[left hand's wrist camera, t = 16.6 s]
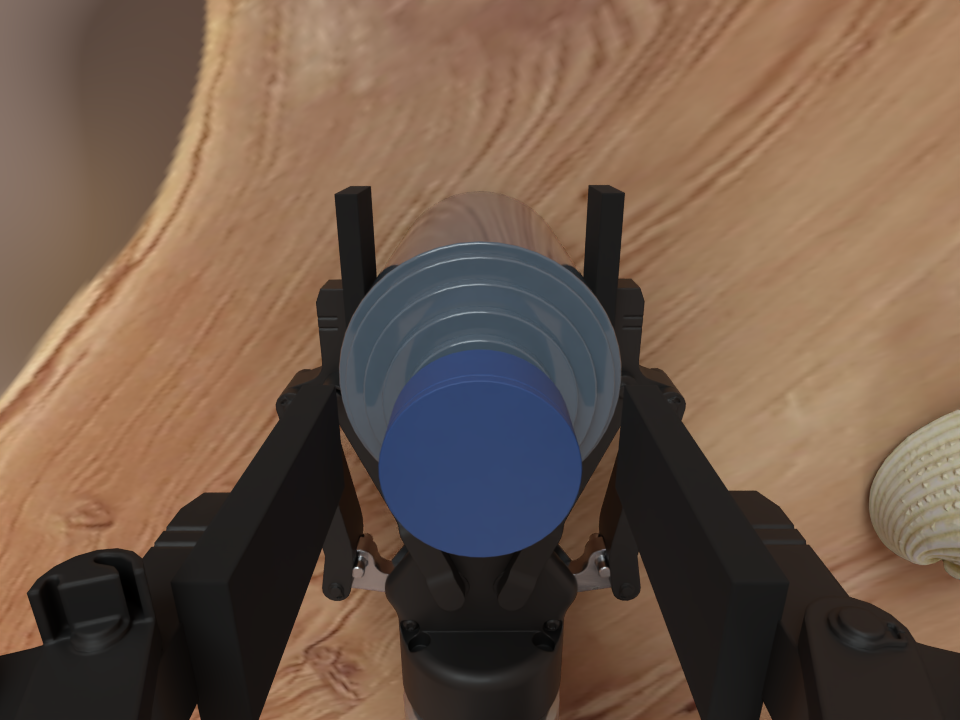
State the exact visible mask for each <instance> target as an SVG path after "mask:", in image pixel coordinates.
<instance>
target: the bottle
mask: <svg viewBox="0 0 960 720" xmlns="http://www.w3.org/2000/svg"><path fill="white" fill-rule="evenodd" d="M467 350H493V351H500V352H504V353H508V354H511V355H514V356H517V357H519V358H521V359H524V360H526V361H527V362H529V363H531V364H533V365H534V366H536V367H537V368H538V369H540V370H541V371H542V372H544V373H545V374H546V375H547V376H548V377H549V378H550V379H551V380H552V382H553V383H554V384H555V386H556V387H557V388H558V390H559V391H560V393H561V395H562V397H563V399H564V401H565V403H566V406H567V409H568V412H569V415H570V418H571V422H572V425H573V428H574V431H575V435H576V438H577V441H578V445H579V448H580V453H581V458H582V462H583V461H584V460H585V459H586V458H587V457H588V456H589V454H590V453H591V452H592V451H593V449H594V448H595V447H596V446H597V444H598V443H599V441H600V440H601V438H602V437H603V435H604V433H605V432H606V430H607V428H608V426H609V424H610V421H611V419H612V417H613V415H614V412H615V408H616V405H617V402H618V398H619V392H620V385H621V358H620V351H619V345H618V342H617V338H616V335H615V331H614V329H613V326H612V324H611V322H610V320H609V318H608V315H607V313H606V312H605V310H604V308H603V307H602V305H601V304H600V302H599V301H598V299H597V297H596V296H595V294H594V293H593V291H592V290H591V288H590V287H589V285H588V284H587V282H586V281H585V279H584V278H583V276H582V275H581V273H580V272H579V270H578V269H577V267H576V266H575V264H574V263H573V261H572V260H571V258H570V257H569V255H568V254H567V252H566V251H565V249H564V248H563V246H562V245H561V243H560V242H559V240H558V239H557V237H556V235H555V234H554V232H553V231H552V229H551V228H550V226H549V225H548V224H547V223H546V222H545V220H544V219H543V218H542V217H541V216H540V215H539V214H538V213H536V212H535V211H534V210H533V209H532V208H530V207H529V206H527V205H526V204H524V203H522V202H520V201H518V200H516V199H514V198H512V197H509V196H506V195H503V194H498V193H493V192H467V193H462V194H458V195H454V196H452V197H449V198H446V199H444V200H442V201H440V202H438V203H436V204H434V205H433V206H432V207H430V208H429V209H427V210H426V211H425V212H424V213H423V214H422V215H421V216H420V217H418V218H417V219H416V221H415V222H414V223H413V224H412V226H411V227H410V228H409V230H408V231H407V233H406V234H405V236H404V237H403V239H402V240H401V242H400V243H399V245H398V246H397V248H396V249H395V251H394V252H393V254H392V255H391V257H390V259H389V260H388V262H387V263H386V265H385V266H384V268H383V269H382V271H381V272H380V274H379V275H378V277H377V278H376V280H375V281H374V283H373V284H372V286H371V287H370V289H369V290H368V292H367V293H366V295H365V296H364V298H363V299H362V301H361V303H360V304H359V306H358V308H357V309H356V311H355V313H354V314H353V316H352V318H351V321H350V323H349V325H348V328H347V330H346V332H345V336H344V340H343V344H342V348H341V354H340V363H339V382H340V389H341V395H342V401H343V404H344V407H345V410H346V413H347V416H348V419H349V421H350V423H351V425H352V427H353V429H354V431H355V433H356V434H357V436H358V437H359V439H360V441H361V442H362V444H363V445H364V447H365V448H366V449H367V450H368V451H369V453H370V454H371V455H372V456H373V457H374V458H375V459H376V460H377V461H378V462H379V456H380V451H381V447H382V444H383V440H384V437H385V434H386V430H387V427H388V424H389V420H390V417H391V414H392V410H393V407H394V404H395V402H396V400H397V398H398V396H399V394H400V392H401V391H402V389H403V388H404V386H405V385H406V384H407V382H408V381H409V380H410V379H411V378H412V377H413V376H414V375H415V374H416V373H417V372H418V371H419V370H421V369H422V368H424V367H425V366H426V365H428V364H429V363H431V362H433V361H435V360H437V359H439V358H441V357H444V356H447V355H449V354H452V353H456V352H461V351H467Z"/></svg>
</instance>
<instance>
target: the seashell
mask: <svg viewBox="0 0 960 720" xmlns="http://www.w3.org/2000/svg"><path fill="white" fill-rule="evenodd" d="M869 512H870V518H871V521H872V525H873V527H874V529H875V531H876V533H877V535H878V537H879V538H880V540H881V541H882V542H883V544H884V545H885V546H886V547H887V548H888V549H890V550H891V551H892V552H894V553H895V554H896V555H898V556H900V557H902V558H904V559H906V560H908V561H910V562H912V563H915V564H919V565H929V564H933V563H936V562H938V561H940V560H943V564H944V568H945V571H946V572H947V573H948V574H949V575H951V576H952V577H954V578H956V579H959V580H960V410H956V411H954V412H951V413H949V414H947V415H944V416H942V417H940V418H938V419H936V420H935V421H933V422H931V423H929V424H928V425H926V426H924V427H922V428H921V429H919V430H917V431H916V432H914V433H913V434H911V435H910V436H908V437H907V438H906V439H905V440H904V441H903V442H902V443H900V444H899V445H898V446H897V447H896V448H895V449H894V450H893V451H892V453H891V454H890V455H889V456H888V457H887V458H886V459H885V461H884V463H883V464H882V466H881V467H880V469H879V470H878V472H877V474H876V476H875V478H874V480H873V483H872V486H871V490H870V497H869Z"/></svg>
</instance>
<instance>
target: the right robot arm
mask: <svg viewBox="0 0 960 720" xmlns="http://www.w3.org/2000/svg"><path fill="white" fill-rule="evenodd" d="M624 198H625V193H624V192H622V191H620V190H618V189H616V188H614V187H612V186H610V185H589V189H588V206H587V224H586V241H585V259H584V276H583V278H584V279H585V281H586V282H587V284H588V285H589V287H590V288H591V290H592V291H593V293H594V294H595V296H596V297H597V299H598V301H599V302H600V304H601V305H602V307H603V308H604V310H605V312H606V313H607V315H608V318H609V320H610V322H611V324H612V326H613V329H614V331H615V335H616V338H617V342H618V345H619V351H620V358H621V385H620V392H619V398H618V402H617V405H616V408H615V412H614V415H613V417H612V419H611V421H610V424H609V426H608V428H607V430H606V432H605V433H604V435H603V437H602V438H601V440H600V441H599V443H598V444H597V446H596V447H595V448H594V449H593V451H592V452H591V453H590V454H589V456H588V457H587V458H586V459H585V460H584V461H583V462H582V478H581V484H580V488H579V492H578V495H577V497H576V500H575V502H574V504H573V506H572V508H573V507H574V505H575V503H576V501H577V500H578V498H579V496H580V495H581V493H582V491H583V489H584V488H585V486H586V484H587V483H588V481H589V479H590V477H591V476H592V474H593V472H594V471H595V469H596V467H597V465H598V464H599V462H600V460H601V459H602V457H603V455H604V453H605V452H606V450H607V448H608V446H609V445H610V443H611V441H612V440H613V438H614V436H615V434H616V433H617V431H618V429H619V428H620V426H621V417H622V406H623V395H624V385H658V387H659V388H660V390H661V391H662V393H663V394H664V396H665V397H666V399H667V400H668V402H669V403H670V405H671V406H672V408H673V409H674V411H675V412H676V414H677V415H678V417H679V418H680V420H682V417H683V414H684V411H685V406H686V403H685V400H684V398H683V396H682V395H681V394H680V392H679V391H678V389H677V388H676V387H675V385H674V384H673V383H672V381H671V380H670V379H669V377H668V376H667V374H666V373H665V372H664V371H663V370H660V369H658V368H651V369H648V368H646V367H643V366H640V365H639V355H640V344H641V333H642V323H643V312H644V302H645V301H644V298H643V295H642V292H641V289H640V287H639V286H638V285H637V284H636V283H635V282H634V281H633V280H632V279H618V275H619V262H620V249H621V236H622V224H623V211H624ZM335 206H336V217H337V229H338V240H339V252H340V264H341V275H342V280H328V281H327V282H326V284H325V285H324V286H323V287H322V288H321V289H320V292H319V295H318V298H317V301H316V306H317V316H318V326H319V336H320V346H321V355H322V366H320V367H318V368H315V369H312V370H310V369H303V370H301V371H299V372H298V373H297V374H296V375H295V376H294V377H293V379H292V380H291V381H290V383H289V384H288V386H287V387H286V388H285V390H284V391H283V392H282V394H281V395H280V397H279V398H278V399H277V402H276V410H277V413H278V416H279V419H280V418H281V417H282V415H283V414H284V412H285V411H286V409H287V408H288V406H289V405H290V403H291V402H292V400H293V399H294V397H295V396H296V394H297V393H298V391H299V390H300V388H301V387H302V385H336V395H337V406H338V417H339V425H340V426H341V428H342V430H343V431H344V433H345V435H346V437H347V438H348V440H349V442H350V443H351V445H352V447H353V448H354V450H355V452H356V453H357V455H358V457H359V458H360V460H361V462H362V464H363V465H364V467H365V469H366V470H367V472H368V474H369V475H370V477H371V479H372V480H373V482H374V484H375V485H376V487H377V489H378V491H379V492H380V494H381V496H382V497H383V499H384V496H383V493H382V490H381V486H380V481H379V469H378V464H379V462H378V461H377V460H376V459H375V458H374V457H373V456H372V455H371V454H370V453H369V451H368V450H367V449H366V448H365V447H364V445H363V444H362V442H361V441H360V439H359V437H358V436H357V434H356V433H355V431H354V429H353V427H352V425H351V423H350V421H349V419H348V416H347V413H346V410H345V407H344V404H343V401H342V395H341V389H340V382H339V363H340V354H341V348H342V344H343V340H344V336H345V332H346V330H347V328H348V325H349V323H350V321H351V318H352V316H353V314H354V313H355V311H356V309H357V308H358V306H359V304H360V303H361V301H362V299H363V298H364V296H365V295H366V293H367V292H368V290H369V289H370V287H371V286H372V284H373V283H374V281H375V280H376V278H377V275H376V259H375V244H374V229H373V213H372V198H371V186H350V187H348V188H346V189H344V190H342V191H340V192H338V193H336V194H335ZM341 450H342V461H343V472H344V483H345V488H344V490H343V493H342V496H341V498H340V501H339V504H338V507H337V509H336V512H335V515H334V517H333V520H332V523H331V526H330V528H329V531H328V534H327V536H326V539H325V542H324V544H323V547H322V548H323V551H324V554H325V564H324V575H323V585H322V590H323V593H324V595H325V596H326V597H327V598H329V599H331V600H334V601H341V600H344V599H346V598H347V597H348V596H349V594H350V591H351V588H359V589H366V590H374V591H381V592H385V594H386V597H387V599H388V601H389V602H390V603H391V605H392V606H393V607H394V609H395V610H396V612H397V614H398V618H399V630H400V645H401V660H402V675H403V685H404V707H405V720H558V719H559V702H560V699H559V686H560V678H561V662H562V644H563V627H564V616H565V613H566V611H567V609H568V608H569V606H570V605H571V604H572V602H573V601H574V599H575V598H576V595H577V592H581V591H589V590H596V589H603V588H610V587H611V588H612V592H613V594H614V596H615V597H616V598H617V599H620V600H625V601H628V600H631V599H634V598H635V597H637V596H638V594H639V593H640V588H641V587H640V577H639V567H638V558H637V555H638V552H639V550H638V547H637V544H636V542H635V539H634V536H633V534H632V531H631V528H630V526H629V523H628V520H627V517H626V515H625V512H624V509H623V507H622V504H621V501H620V498H619V496H618V493H617V490H616V488H615V483H616V472H617V461H618V454H617V457H616V460H615V464H614V467H613V471H612V474H611V478H610V481H609V484H608V488H607V491H606V495H605V498H604V502H603V505H602V509H601V513H600V519H599V533H594V534H592V535H590V537H589V541H588V542H587V544H586V546H585V551H584V554H583V555H582V556H581V557H580V558H579V559H577V560H573V561H571V559H570V558H569V557H568V555H567V554H566V553H565V552H564V551H563V549H562V548H561V547H560V546H559V545H558V543H559V541H560V539H561V536H562V533H563V527H564V523H565V521H566V519H567V517H568V515H569V514H570V512H571V510H572V508H571V509H570V511H569V513H568V515H567V516H566V517H565V518H564V520H563V521H562V522H561V523H560V524H559V525H558V526H557V527H556V528H555V529H554V530H553V531H552V532H551V533H550V534H548V535H547V536H546V537H544V538H543V539H542V540H540V541H538V542H537V543H535V544H533V545H531V546H529V547H527V548H525V549H522V550H520V551H517V552H513V553H510V554H506V555H501V556H495V557H466V556H459V555H455V554H451V553H447V552H444V551H441V550H438V549H436V548H434V547H432V546H430V545H428V544H426V543H424V542H422V541H421V540H419V539H418V538H416V537H415V536H413V535H412V534H411V533H410V532H409V531H407V530H406V529H405V528H404V527H403V526H402V525H401V524H400V523H399V521H398V520H397V519H396V518H395V516H394V515H393V516H394V518H395V519H396V521H397V523H398V527H399V533H400V536H401V539H402V541H403V543H404V545H403V547H402V548H401V549H400V550H399V552H398V553H397V554H396V555H395V556H394V558H393V559H392V560H391V561H389V560H386V559H384V558H382V557H381V556H380V555H379V553H378V549H377V545H376V543H375V542H374V541H373V537H372V535H370V534H368V533H364V534H363V517H362V513H361V508H360V505H359V502H358V498H357V495H356V492H355V488H354V485H353V482H352V478H351V475H350V471H349V468H348V465H347V461H346V458H345V455H344V451H343V448H342V445H341ZM384 501H385V499H384ZM385 502H386V501H385ZM386 504H387V503H386ZM387 506H388V505H387ZM392 514H393V513H392Z"/></svg>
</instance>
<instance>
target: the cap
mask: <svg viewBox="0 0 960 720" xmlns="http://www.w3.org/2000/svg"><path fill="white" fill-rule="evenodd" d="M378 469H379V481H380V486H381V490H382V493H383V496H384V499H385V501H386V503H387V505H388V507H389V509H390V511H391V512H392V513H393V515H394V516H395V518H396V519H397V520H398V521H399V523H400V524H401V525H402V526H403V527H404V528H405V529H406V530H407V531H409V532H410V533H411V534H412V535H413V536H415V537H416V538H418V539H419V540H421V541H422V542H424V543H426V544H428V545H430V546H432V547H434V548H436V549H438V550H441V551H444V552H447V553H451V554H455V555H459V556H466V557H495V556H501V555H506V554H510V553H513V552H517V551H520V550H522V549H525V548H527V547H529V546H531V545H533V544H535V543H537V542H538V541H540V540H542V539H543V538H544V537H546V536H547V535H548V534H550V533H551V532H552V531H553V530H554V529H555V528H556V527H557V526H558V525H559V524H560V523H561V522H562V521H563V520H564V518H565V517H566V516H567V515H568V513H569V511H570V509H571V508H572V506H573V504H574V502H575V500H576V497H577V495H578V492H579V488H580V484H581V478H582V458H581V453H580V448H579V445H578V441H577V438H576V435H575V431H574V428H573V425H572V422H571V418H570V415H569V412H568V409H567V406H566V403H565V401H564V399H563V397H562V395H561V393H560V391H559V390H558V388H557V387H556V386H555V384H554V383H553V382H552V380H551V379H550V378H549V377H548V376H547V375H546V374H545V373H544V372H542V371H541V370H540V369H538V368H537V367H536V366H534V365H533V364H531V363H529V362H527V361H526V360H524V359H521V358H519V357H517V356H514V355H511V354H508V353H504V352H500V351H493V350H467V351H461V352H456V353H452V354H449V355H447V356H444V357H441V358H439V359H437V360H435V361H433V362H431V363H429V364H428V365H426V366H425V367H424V368H422V369H421V370H419V371H418V372H417V373H416V374H415V375H414V376H413V377H412V378H411V379H410V380H409V381H408V382H407V384H406V385H405V386H404V388H403V389H402V391H401V392H400V394H399V396H398V398H397V400H396V402H395V404H394V407H393V410H392V414H391V417H390V420H389V424H388V427H387V430H386V434H385V437H384V440H383V444H382V447H381V451H380V456H379V464H378Z"/></svg>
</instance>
